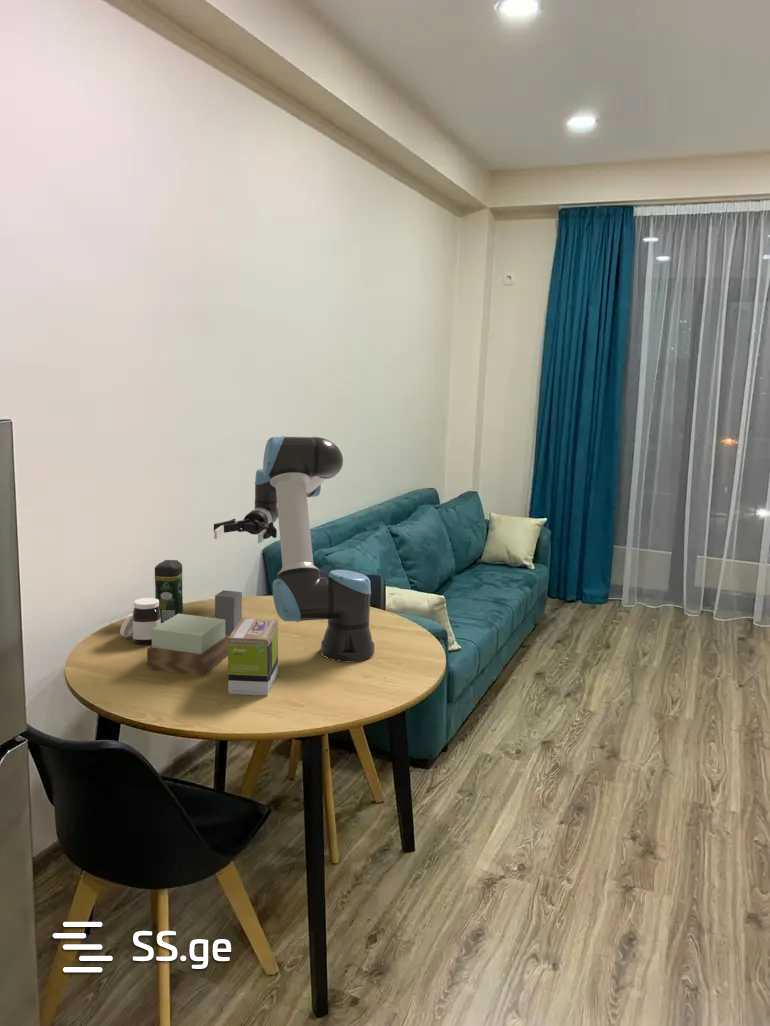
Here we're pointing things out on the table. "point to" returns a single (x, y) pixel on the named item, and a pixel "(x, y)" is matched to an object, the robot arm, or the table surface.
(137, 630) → the spread jar
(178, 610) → the coffee jar
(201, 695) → the table surface
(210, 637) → the sage block
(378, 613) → the table surface
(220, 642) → the walnut block
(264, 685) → the tea box
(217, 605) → the gray block
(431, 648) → the table surface
